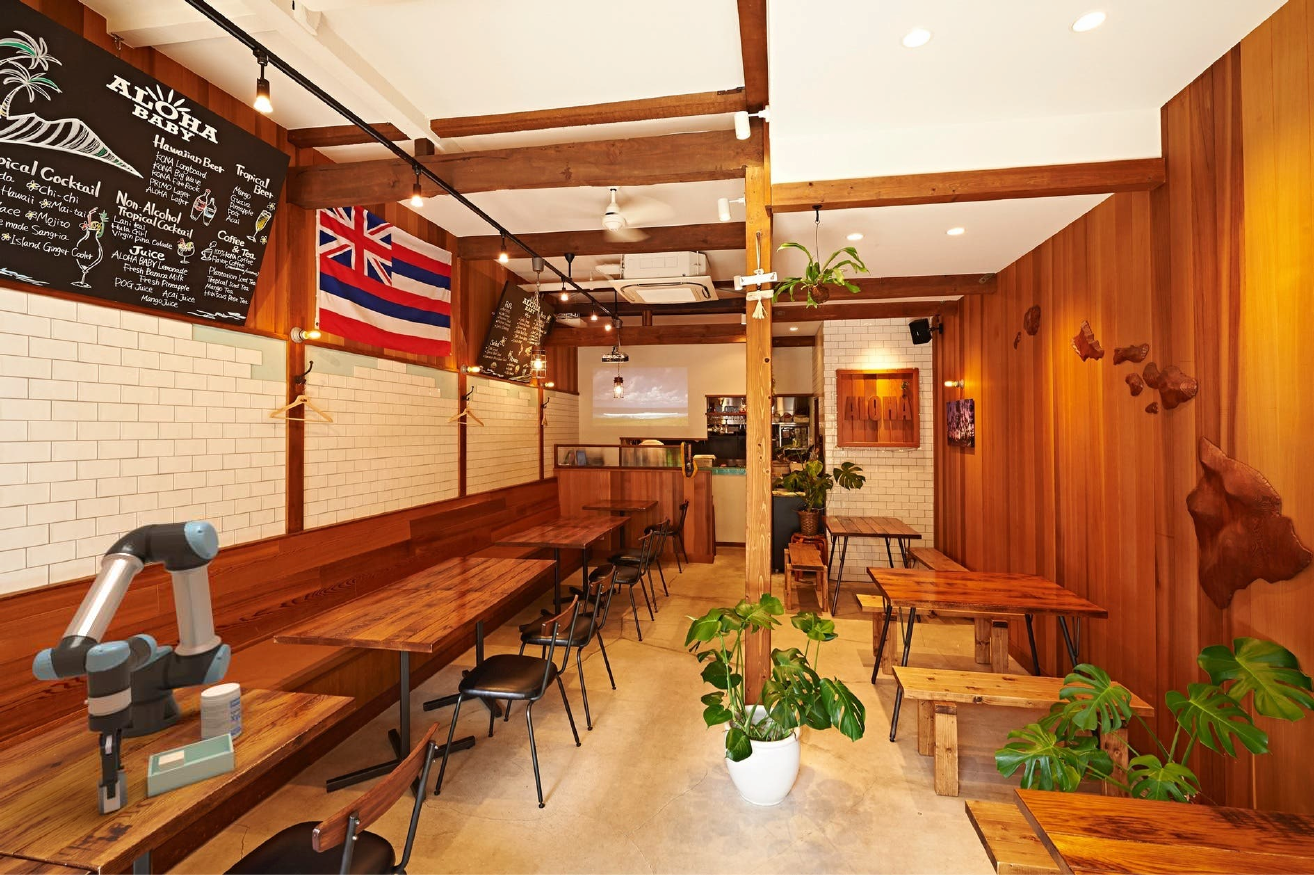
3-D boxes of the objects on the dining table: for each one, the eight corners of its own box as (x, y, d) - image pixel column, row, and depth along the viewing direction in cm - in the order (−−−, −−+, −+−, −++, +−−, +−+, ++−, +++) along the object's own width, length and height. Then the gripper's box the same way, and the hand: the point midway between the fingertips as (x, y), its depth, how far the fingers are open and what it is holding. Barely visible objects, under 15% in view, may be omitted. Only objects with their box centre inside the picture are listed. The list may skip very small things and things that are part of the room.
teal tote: (150, 774, 151) (150, 756, 151) (231, 750, 162) (230, 733, 162) (148, 797, 141) (147, 777, 141) (234, 770, 152) (233, 751, 152)
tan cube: (160, 776, 150) (159, 757, 150) (184, 768, 153) (184, 750, 153) (159, 784, 146) (158, 765, 146) (184, 776, 149) (183, 757, 149)
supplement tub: (240, 740, 168) (239, 690, 168) (199, 751, 163) (198, 699, 163) (242, 727, 176) (241, 679, 176) (203, 737, 171) (202, 688, 171)
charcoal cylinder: (99, 806, 138) (98, 777, 138) (127, 797, 141) (126, 769, 141) (97, 816, 134) (96, 787, 134) (126, 807, 137) (125, 778, 137)
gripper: (92, 701, 142) (95, 795, 142) (83, 727, 129) (86, 830, 129) (133, 692, 147) (136, 782, 147) (128, 716, 133) (131, 815, 133)
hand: (113, 805), depth 138 cm, fingers closed on charcoal cylinder, 4 cm apart
